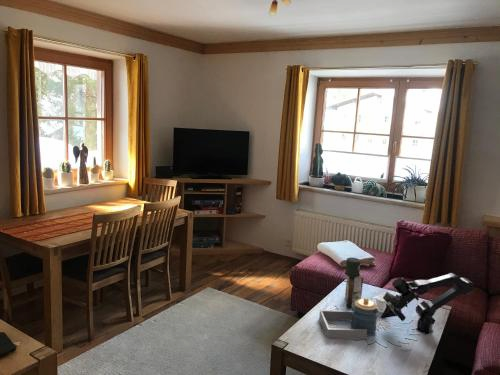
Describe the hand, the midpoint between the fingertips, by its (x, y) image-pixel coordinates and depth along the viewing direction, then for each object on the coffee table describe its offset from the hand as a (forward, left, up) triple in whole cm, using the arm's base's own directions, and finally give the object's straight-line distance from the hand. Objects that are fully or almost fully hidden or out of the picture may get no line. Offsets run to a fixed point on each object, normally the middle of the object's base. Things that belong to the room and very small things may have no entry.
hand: (381, 317), depth 212 cm
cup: (+13, -19, -7) cm, 24 cm away
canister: (+6, +7, -7) cm, 12 cm away
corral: (+13, +16, -7) cm, 22 cm away
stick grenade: (+25, -7, -7) cm, 27 cm away
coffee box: (+30, -18, -7) cm, 35 cm away
